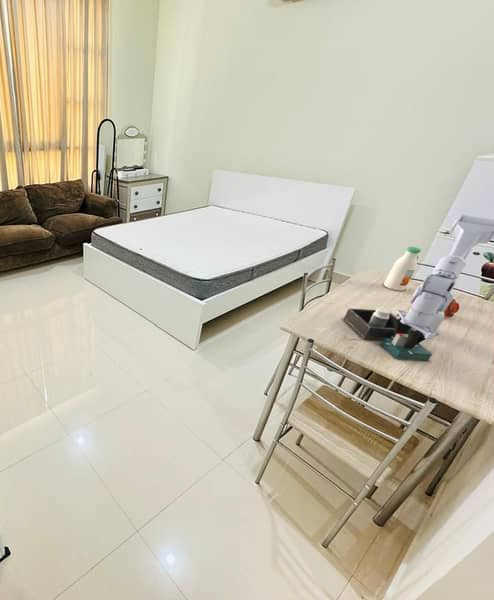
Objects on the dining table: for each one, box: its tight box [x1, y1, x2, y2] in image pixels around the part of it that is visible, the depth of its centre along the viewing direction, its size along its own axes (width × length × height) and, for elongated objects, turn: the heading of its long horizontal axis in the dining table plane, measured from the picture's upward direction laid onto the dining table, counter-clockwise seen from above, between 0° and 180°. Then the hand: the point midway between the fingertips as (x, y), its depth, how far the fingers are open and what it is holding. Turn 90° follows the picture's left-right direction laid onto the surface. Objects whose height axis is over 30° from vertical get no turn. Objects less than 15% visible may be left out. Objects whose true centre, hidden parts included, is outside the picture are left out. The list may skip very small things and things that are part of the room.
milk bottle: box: [383, 246, 422, 292], centre depth 149 cm, size 8×8×20 cm
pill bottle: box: [368, 306, 392, 328], centre depth 120 cm, size 5×5×8 cm
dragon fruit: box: [444, 298, 460, 318], centre depth 131 cm, size 8×8×12 cm
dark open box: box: [343, 307, 414, 342], centre depth 121 cm, size 15×14×5 cm
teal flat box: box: [380, 336, 433, 362], centre depth 110 cm, size 12×10×3 cm
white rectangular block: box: [392, 333, 408, 346], centre depth 109 cm, size 6×2×4 cm, turn 84°
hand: (402, 343), depth 110 cm, fingers open, 4 cm apart
